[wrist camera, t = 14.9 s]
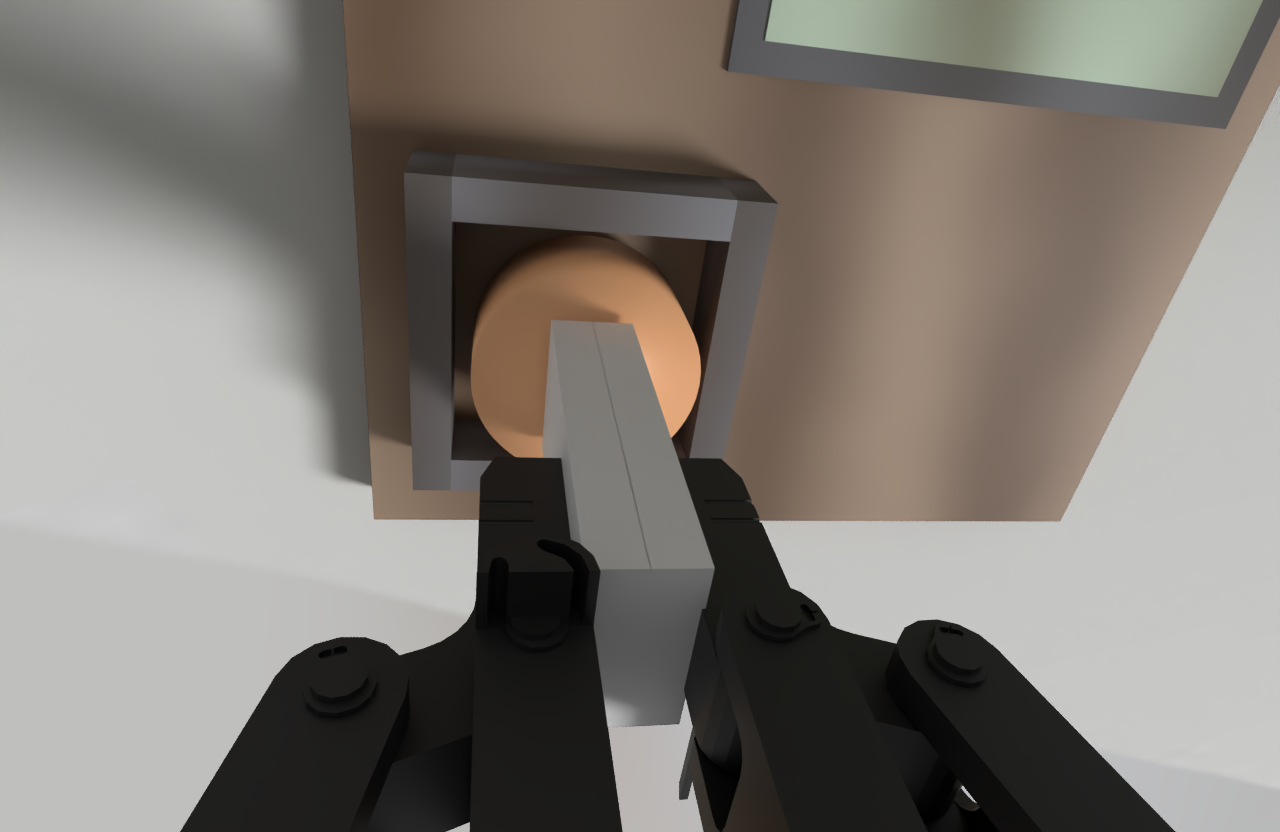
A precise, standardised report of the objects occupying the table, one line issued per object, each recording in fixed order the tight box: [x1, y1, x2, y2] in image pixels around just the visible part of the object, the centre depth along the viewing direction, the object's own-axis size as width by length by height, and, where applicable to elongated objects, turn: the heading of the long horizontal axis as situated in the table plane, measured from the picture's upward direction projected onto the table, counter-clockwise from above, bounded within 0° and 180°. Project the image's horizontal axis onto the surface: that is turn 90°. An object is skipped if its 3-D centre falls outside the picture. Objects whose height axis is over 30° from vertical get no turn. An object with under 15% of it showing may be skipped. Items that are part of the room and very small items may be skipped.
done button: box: [471, 235, 701, 458], centre depth 16 cm, size 4×4×2 cm
